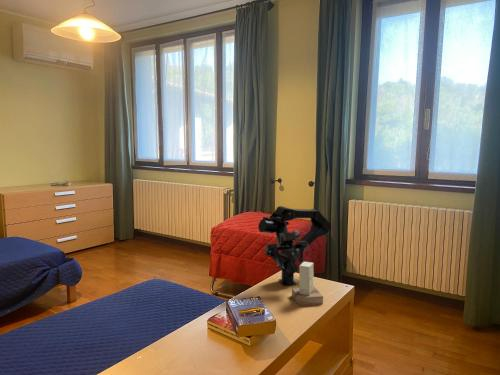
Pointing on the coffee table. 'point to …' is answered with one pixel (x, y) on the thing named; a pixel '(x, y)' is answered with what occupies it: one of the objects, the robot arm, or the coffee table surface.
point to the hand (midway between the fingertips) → (291, 265)
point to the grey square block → (307, 297)
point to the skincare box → (306, 278)
